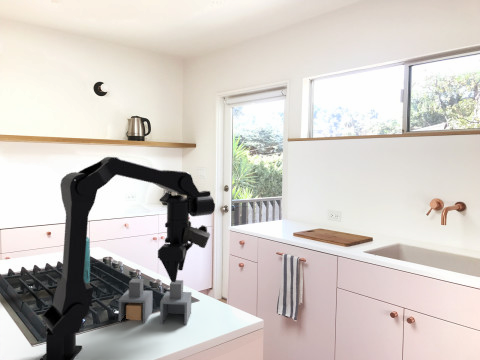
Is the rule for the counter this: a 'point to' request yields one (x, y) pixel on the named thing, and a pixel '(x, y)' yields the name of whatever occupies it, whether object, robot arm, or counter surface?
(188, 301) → the cover
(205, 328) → the counter surface
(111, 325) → the counter surface
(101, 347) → the counter surface
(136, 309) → the brown cube
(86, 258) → the beverage bottle
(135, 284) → the cover
